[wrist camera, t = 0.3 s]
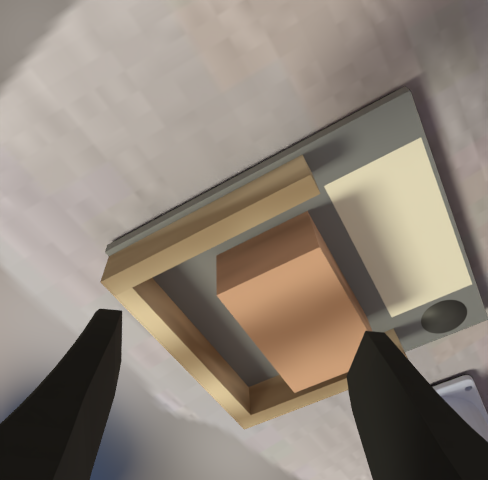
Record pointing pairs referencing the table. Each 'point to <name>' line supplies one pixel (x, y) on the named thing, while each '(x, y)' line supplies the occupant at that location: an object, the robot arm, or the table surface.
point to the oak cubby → (175, 321)
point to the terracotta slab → (293, 302)
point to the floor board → (349, 236)
